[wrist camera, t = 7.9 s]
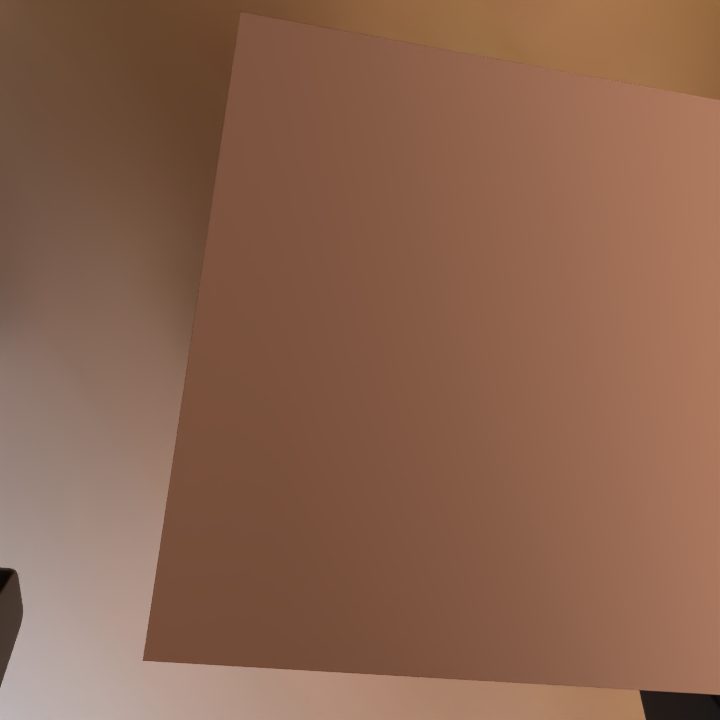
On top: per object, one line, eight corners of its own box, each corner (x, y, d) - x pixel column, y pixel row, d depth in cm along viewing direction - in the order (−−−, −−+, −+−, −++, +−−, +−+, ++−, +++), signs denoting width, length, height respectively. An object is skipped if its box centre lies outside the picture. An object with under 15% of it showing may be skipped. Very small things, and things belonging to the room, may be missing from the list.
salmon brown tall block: (391, 540, 18) (819, 700, 4) (235, 527, 17) (142, 662, 4) (403, 389, 19) (787, 113, 5) (255, 372, 18) (240, 10, 5)
